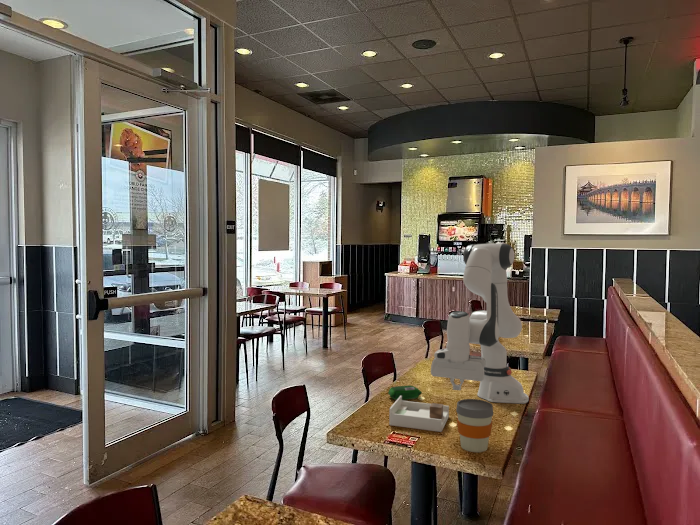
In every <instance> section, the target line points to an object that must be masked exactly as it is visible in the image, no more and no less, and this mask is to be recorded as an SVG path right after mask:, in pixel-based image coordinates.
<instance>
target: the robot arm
mask: <svg viewBox="0 0 700 525" xmlns="http://www.w3.org/2000/svg"><path fill="white" fill-rule="evenodd" d="M462 254H463V262H464V264H465V266H464V267H465V268H464V270H463V275H462V276H463V277H462V279H463V284H464V286H465V287H466V288H467V289H468V291H470V292H471V293H473V294H474V295H476V296H479V297H481V298H482V300H483V302H485V303H486V310H477V311H476V310H475V311H472V313H471V314H470V315H469V313H468V312H466V311H460V310H459V311H458V310H457V311H452V312H450V313H449V314H448V317H447V324H446V325H447V326H446V337H447V341H446V345H445V347H446V348H442V349H437V350H436V351H435V352H434V354H433V356H434V359H433V360H432V361H431V366H430V375H431V376H432V377H435V378H436V377H437V378H445V379H447V378H448V379H449V381H450V383H451V385H452V390H454V391H462V386H463V384H464V382H465V380H466V381H475V382H479V388H478V391H477V394H476V395H477V396H478V397H479V398H481V399H482V400H483V399H484V400H485V401H487V402H489V403H491V402H492V403H502V404H503V403H504V404H505V403H506V404H521V405H522V404H527V403H528V402H529V398H530V397H529V396H528V394H527V393H526V392H524V387H523V385H522V383H521V382H520V381H519V380H517V379H516V378H515V377H513V375H512V369H511V367H510V366H507V358H508V357H507V355H508V351H507V349H506V346H504V345H503V344H502V343H501V342H500V340H499V338H504V339H513V338H517V337H518V336H519V335H520V334H521V332H522V329H523V323H522V321H521V319H520V317H519V316H517V315H516V313H514V311H513V309H512V307H511V305H510V302H509V298H508V297H509V296H508V272H507V270H508V269H509V268H510V267H511V266H512V265H513V264H514V261H515V251H514V248H513V247H512V245H510V244H507V243H502V244H501V243H491V242H489V243H477V244H476V243H474V244H473V243H472V244H469V245H467V246H466V247H465V248H464V250H463V253H462ZM470 344H472V345H473V344H475V345H480V351H481V352H480V353H481V355H471V352H470V351H471V347H470V346H471V345H470ZM455 379H456V380H459V382H460V383H459V384H456V383H455Z"/></svg>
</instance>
